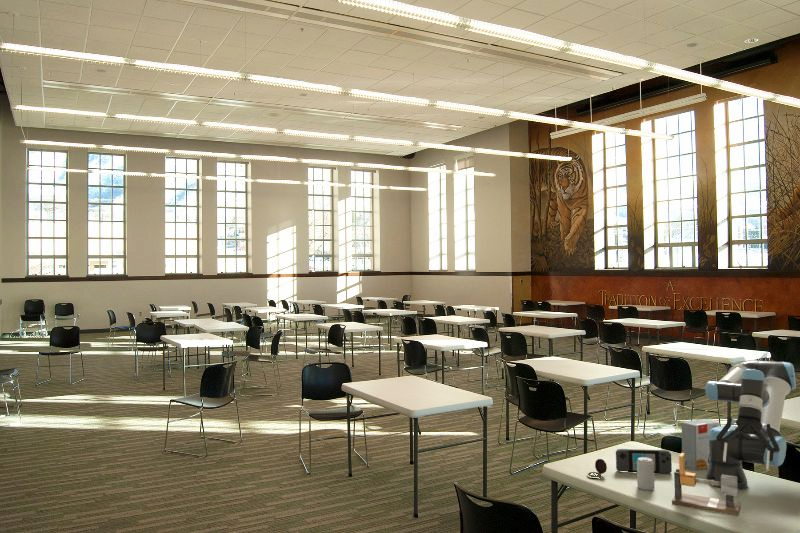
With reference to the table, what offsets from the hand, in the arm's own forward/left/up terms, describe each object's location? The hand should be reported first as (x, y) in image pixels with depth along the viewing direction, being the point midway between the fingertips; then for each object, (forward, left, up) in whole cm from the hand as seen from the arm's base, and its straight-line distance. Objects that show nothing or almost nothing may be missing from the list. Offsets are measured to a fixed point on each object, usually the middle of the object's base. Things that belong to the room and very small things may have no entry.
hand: (745, 465), depth 218 cm
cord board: (-1, -13, -17) cm, 22 cm away
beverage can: (-9, -36, -18) cm, 41 cm away
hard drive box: (-51, -21, -18) cm, 58 cm away
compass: (-12, -57, -18) cm, 61 cm away
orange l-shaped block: (-1, -19, -10) cm, 22 cm away
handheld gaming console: (-29, -41, -18) cm, 53 cm away
